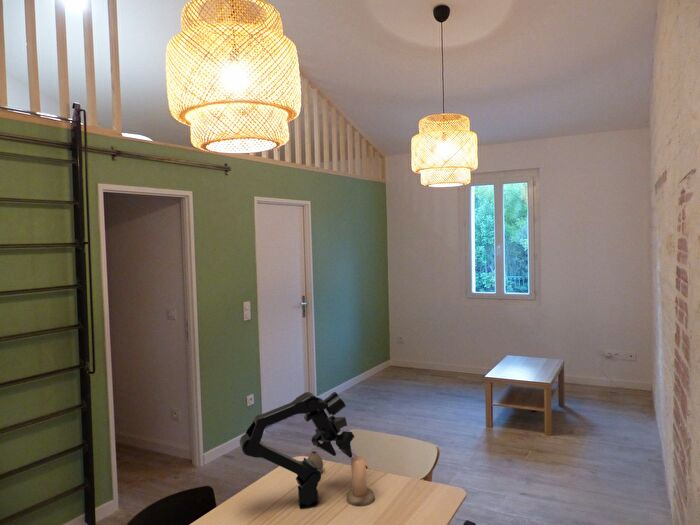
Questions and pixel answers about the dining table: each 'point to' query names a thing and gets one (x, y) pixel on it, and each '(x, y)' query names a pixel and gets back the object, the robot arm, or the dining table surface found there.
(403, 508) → the dining table surface
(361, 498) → the stand
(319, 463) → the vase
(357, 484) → the tan tapered cylinder
